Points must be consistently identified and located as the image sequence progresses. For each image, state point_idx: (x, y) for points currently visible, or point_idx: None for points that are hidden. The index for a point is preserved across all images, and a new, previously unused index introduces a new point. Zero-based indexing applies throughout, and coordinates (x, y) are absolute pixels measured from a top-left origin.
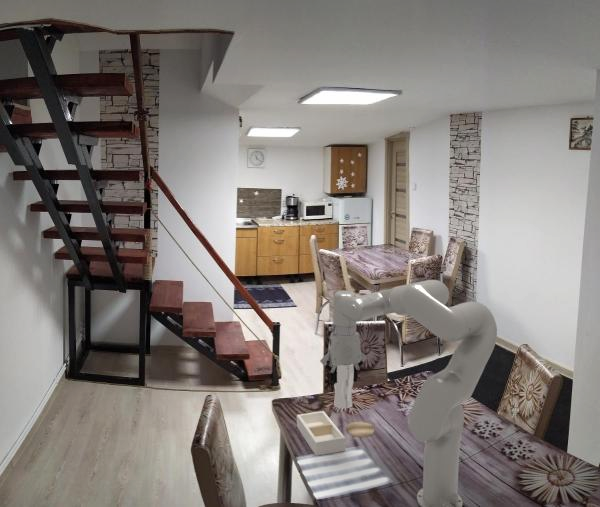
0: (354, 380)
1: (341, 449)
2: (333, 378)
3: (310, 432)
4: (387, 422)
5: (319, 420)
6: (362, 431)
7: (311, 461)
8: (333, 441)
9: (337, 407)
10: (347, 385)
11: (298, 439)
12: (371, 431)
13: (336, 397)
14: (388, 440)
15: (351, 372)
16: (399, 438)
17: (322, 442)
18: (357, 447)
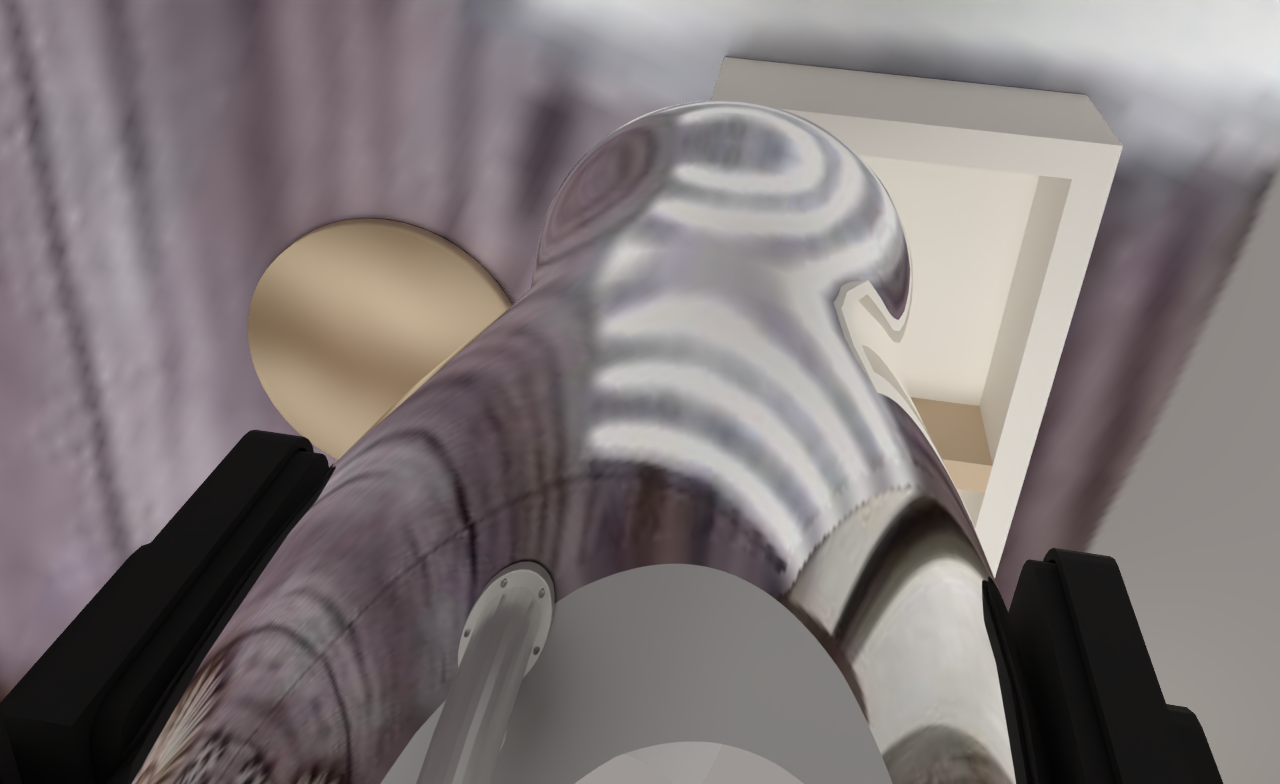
0: (310, 470)
1: (768, 67)
2: (1156, 722)
3: (1032, 383)
4: (87, 362)
5: None
6: (391, 296)
7: (1205, 4)
8: (873, 112)
9: (894, 213)
10: (671, 314)
11: (1055, 452)
12: (301, 258)
13: (896, 357)
14: (187, 54)
15: (345, 621)
16: (59, 42)
17: (1025, 132)
18: (564, 63)
